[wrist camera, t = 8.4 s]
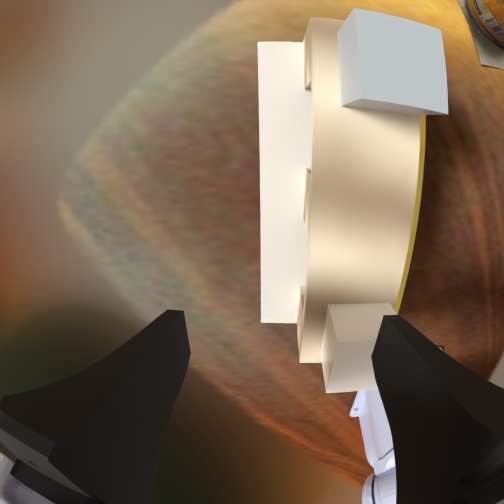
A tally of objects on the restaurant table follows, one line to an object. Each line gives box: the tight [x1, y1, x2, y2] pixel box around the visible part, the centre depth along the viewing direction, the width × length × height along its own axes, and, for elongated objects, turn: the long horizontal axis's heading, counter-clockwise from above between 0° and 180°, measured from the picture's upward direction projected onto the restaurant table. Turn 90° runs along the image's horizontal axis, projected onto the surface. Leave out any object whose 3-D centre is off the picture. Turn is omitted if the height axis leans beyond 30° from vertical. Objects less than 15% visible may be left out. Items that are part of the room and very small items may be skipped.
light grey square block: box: [337, 8, 448, 116], centre depth 8 cm, size 4×4×3 cm
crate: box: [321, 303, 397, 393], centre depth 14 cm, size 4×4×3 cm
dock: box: [258, 42, 426, 323], centre depth 17 cm, size 18×10×2 cm, turn 1°
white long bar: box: [297, 17, 420, 363], centre depth 14 cm, size 18×5×4 cm, turn 1°
